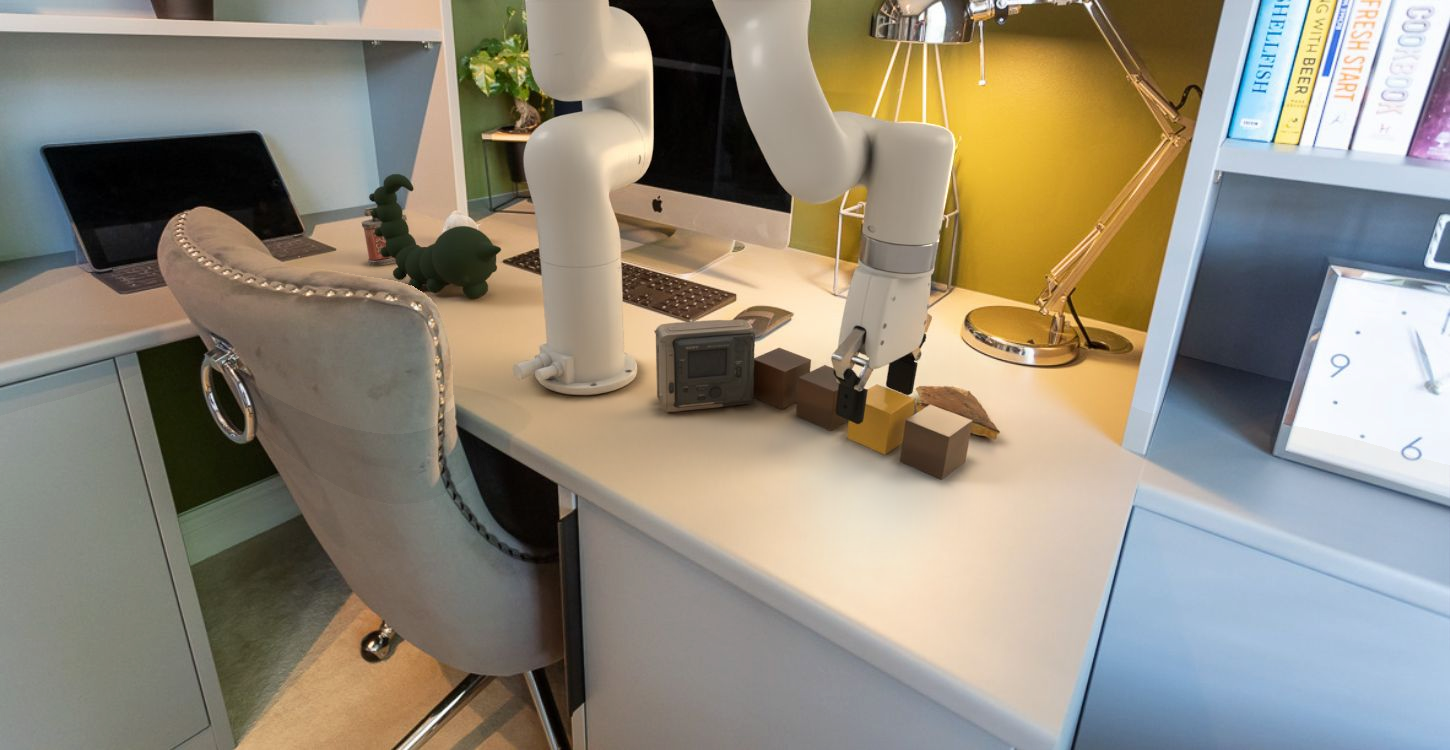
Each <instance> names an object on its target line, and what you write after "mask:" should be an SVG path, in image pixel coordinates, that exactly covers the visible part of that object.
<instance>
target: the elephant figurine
mask: <svg viewBox="0 0 1450 750" xmlns="http://www.w3.org/2000/svg"><path fill="white" fill-rule="evenodd" d="M482 224H484V222H481V223H476V222H475V220H474V219H473V218H471V217H470V216H468V215H465V214H463V213H462V211H460V210H458V209H457V210H453V211H451V213H450V214H449V216H447V218H446V219H445V222H444V225H443V228H442V230H441V234H443V233H444V232H445V231H447V230H449V229H451V228H453V227H458V226H468V227H472V228H475V229H477V230H479V231H480V229H479V226H482Z"/></svg>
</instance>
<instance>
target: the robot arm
mask: <svg viewBox="0 0 1450 750" xmlns="http://www.w3.org/2000/svg"><path fill="white" fill-rule="evenodd" d="M711 1H712V2H713V5H714V7H715V10H716V12H717V14H718V16H719V18H720V20H721V21H720V22H721V23H722V25H723V27H724V29H725V31H726V34H727V37H728V39H729V42H730V50H731V61H732V66H733V67H732V68H733V72H734V75H735V82H736V87H737V91H738V95H739V99H740V103H741V107H742V110H743V113H744V116H745V118H746V120H747V123H748V126H749V128H750V130H751V132H752V134H753V136H754V138H755V141H756V142H757V145H758V147H759V149H760V151H761V153H762V155H763V157H764V159H765V161H766V163H767V165H768V166H769V168H770V170H771V173H772V174H773V176H774V177H775V179H776V181H777V182H778V183H779V184H780V185H781V187H782V188H783V189H784V190H785V192H787V193H788V194H789V195H790V196H791V197H792V198H794V199H796V200H798V201H800V202H803V203H806V204H808V205H809V204H810V205H822V204H826V203H829V202H832V201H835V200H836V199H838V198H840V197H842V196H843V195H844V194H845V193H847V192H848V191H851V190H854V189H858V188H865V189H866V200H865V207H864V215H863V222H862V230H861V236H860V237H861V238H860V245H859V251H858V252H859V253H858V261H857V265H858V266H857V267H855V269H854V272H853V275H852V277H851V281H850V283H849V288H848V292H847V296H846V300H845V304H844V308H843V313H842V318H841V325H840V329H839V335H838V343H837V348H836V349H835V350H834V352H833V353H832V355H831V364H832V368H834V372H833V373H834V376H835V377H836V382H837V383H839V387H838V394H837V402H836V410H835V412H836V414H837V415H838V416H840V417H842V418H845V419H847V420H848V422H849V421H851V422H853V423H856V424H860V423H862V422H863V419H864V412H865V405H866V398H867V391H868V390H867V389H868V388H865V387H866V385H867V382H868V381H869V378H870V377H871V375H872V373H873V371H874V370H876V369H881V368H882V367H885V366H887V365H888V368H887V375H886V380H885V381H886V382H885V387H886V388H888V389H891V390H893V391H896V392H899V393H901V394H904V395H907V396H910V395H912V394H913V392H914V387H915V380H916V376H917V370H918V364H919V363H918V362H919V361H920V359H921V357H922V350H921V349H922V347H923V345H924V343H925V342H927V332H928V330H929V328H930V325H931V323H932V320H933V316H932V315H931V314H929V306H930V297H931V286H932V285H931V284H932V275H933V274H934V272H935V266H936V262H937V260H936V259H937V255H938V249H939V244H940V237H941V231H942V226H943V219H944V214H945V208H946V203H947V197H948V192H949V186H950V180H951V174H952V169H953V162H954V158H955V157H954V156H955V152H956V151H955V150H956V139H955V135H954V134H953V132H952V131H951V130H950V129H949V128H947V127H944V126H943V125H942V126H941V125H938V124H933V123H928V122H921V121H919V122H918V121H890V120H885V119H881V118H877V117H873V116H869V115H866V114H862V113H858V112H854V111H849V110H847V111H846V110H838V111H833V110H832V108H831V107H830V104H829V102H828V100H827V97H826V96H825V93H824V91H823V88H822V87H821V84H820V82H819V79H818V77H817V73H816V70H815V68H814V65H813V62H812V59H811V53H810V49H809V40H808V39H809V38H808V28H809V27H808V26H809V21H810V15H811V8H812V0H711ZM524 6H525V18H526V19H525V20H526V32H527V45H528V46H527V47H528V48H527V49H528V58H529V64H530V70H531V74H532V77H533V80H534V82H535V84H536V86H537V87H538V89H540V91H541V92H542V93H543V94H544V95H546V96H547V97H549V98H551V99H553V100H557V101H561V102H579V101H581V108H582V111H577V112H572V113H567V114H562V115H559V116H555V117H552V118H550V119H548V120H546V121H543V122H542V123H541V124H540V125H538V126H537V127H536V128H535V129H534V130H533V131H532V133H531V134H530V136H529V137H528V139H527V141H526V144H525V147H524V151H523V171H524V175H525V179H526V183H527V187H528V191H529V194H530V197H531V201H532V206H533V211H534V217H535V222H536V230H537V239H538V253H539V261H540V272H541V273H540V275H541V283H542V284H541V288H542V298H543V313H544V323H545V324H544V326H545V338H546V342H545V343H543V344H540V345H539V346H538V347H539V348H538V349H539V353H537V354H536V355H534V358H533V359H529V360H527V359H526V360H524V361H521V362H517V363H515V364H513V365H512V372H513V375H514V376H515V377H516V379H517V380H523V379H527V378H528V377H531V376H535V378H536V380H537V381H538V383H539V384H541V385H542V386H543V387H544V388H546V389H548V390H550V391H553V392H556V393H558V394H565V395H573V396H591V395H600V394H605V393H609V392H614V391H616V390H620V389H622V388H624V387H625V386H627V385H629V384H630V383H632V382H633V381H634V380H635V378H636V377H637V374H638V363H637V361H636V359H635V358H634V357H633V356H632V355H630V354H629V353H627V352H625V332H624V331H625V330H624V329H625V328H624V301H623V300H624V299H623V297H624V296H623V269H622V268H623V267H622V263H623V262H622V246H621V245H622V244H621V231H620V228H619V223H618V220H617V217H616V214H615V211H614V207H613V206H612V203H611V199H610V194H611V193H613V192H615V191H619V190H620V189H624V188H626V187H628V186H630V185H633V184H635V183H636V182H638V180H640V179H641V178H643V176H644V175H645V174H646V172H647V170H648V168H649V166H650V164H651V162H652V158H653V151H654V139H655V137H654V133H655V132H654V131H655V130H654V66H653V55H652V50H651V46H650V41H649V39H648V36H647V34H646V32H645V31H644V28H643V26H641V24H640V23H639V21H638V20H637V19H636V18H635V17H634V16H633V15H631V14H630V13H628V12H627V11H625V10H623V9H622V8H618V7H615V6H610V2H609V0H524ZM859 354H861V355H863V356H866V358H868V359H866V358H863V357H860V356H859ZM855 365H856V366H859V367H862V368H861V370H860V372H859V374H857V373H856V372H855V371H854V370H853V368H854V366H855Z"/></svg>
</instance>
